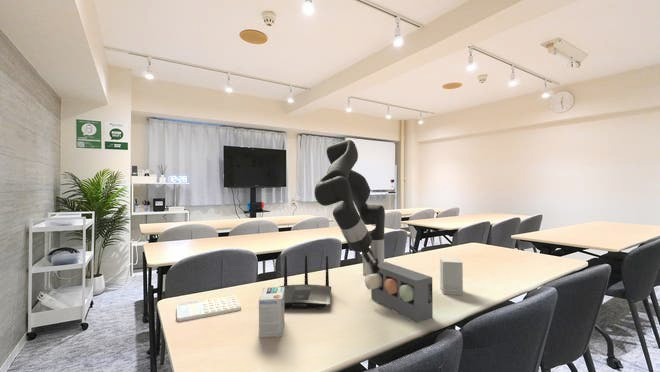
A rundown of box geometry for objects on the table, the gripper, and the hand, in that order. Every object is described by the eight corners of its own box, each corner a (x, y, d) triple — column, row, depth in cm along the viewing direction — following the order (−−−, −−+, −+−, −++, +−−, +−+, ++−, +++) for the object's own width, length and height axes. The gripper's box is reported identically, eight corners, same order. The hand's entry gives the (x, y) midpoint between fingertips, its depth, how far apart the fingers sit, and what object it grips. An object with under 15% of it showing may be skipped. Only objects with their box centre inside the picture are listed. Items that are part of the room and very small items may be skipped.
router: (268, 311, 103) (268, 267, 103) (280, 290, 124) (280, 254, 124) (329, 311, 103) (329, 267, 103) (331, 291, 123) (331, 254, 123)
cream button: (375, 284, 112) (375, 271, 112) (384, 288, 108) (384, 274, 108) (364, 287, 110) (364, 273, 110) (373, 291, 105) (373, 276, 105)
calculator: (241, 311, 104) (241, 306, 104) (176, 323, 95) (176, 317, 95) (235, 298, 116) (235, 293, 116) (176, 308, 107) (176, 303, 107)
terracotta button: (395, 289, 107) (395, 275, 107) (405, 293, 103) (405, 279, 103) (384, 291, 105) (384, 277, 105) (394, 296, 100) (393, 281, 100)
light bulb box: (263, 321, 95) (263, 287, 95) (285, 320, 95) (284, 286, 96) (258, 338, 84) (258, 299, 84) (282, 337, 85) (282, 298, 85)
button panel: (386, 295, 116) (385, 261, 116) (432, 318, 96) (432, 277, 96) (371, 299, 113) (371, 264, 113) (416, 322, 93) (416, 280, 93)
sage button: (410, 296, 101) (410, 281, 101) (422, 301, 96) (421, 285, 96) (399, 298, 98) (399, 283, 98) (410, 304, 94) (410, 287, 94)
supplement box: (463, 295, 116) (463, 262, 116) (442, 294, 117) (442, 261, 117) (459, 289, 123) (458, 258, 123) (439, 288, 125) (439, 257, 125)
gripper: (338, 230, 100) (359, 266, 107) (353, 249, 88) (375, 289, 95) (357, 218, 101) (376, 254, 108) (375, 235, 89) (395, 275, 96)
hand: (376, 270), depth 101 cm, fingers closed
